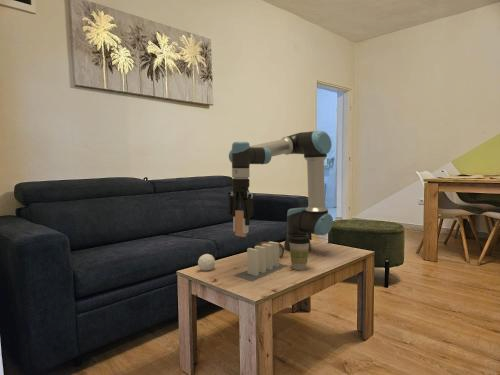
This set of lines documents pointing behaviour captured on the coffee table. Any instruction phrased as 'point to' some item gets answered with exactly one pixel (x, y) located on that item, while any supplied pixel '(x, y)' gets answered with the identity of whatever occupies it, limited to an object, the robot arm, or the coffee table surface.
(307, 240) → the coffee cup
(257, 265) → the domino
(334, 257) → the coffee table surface
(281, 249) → the tin
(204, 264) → the geometric ball
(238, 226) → the domino
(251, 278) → the mat
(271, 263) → the domino
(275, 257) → the domino
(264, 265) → the domino
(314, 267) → the coffee table surface
